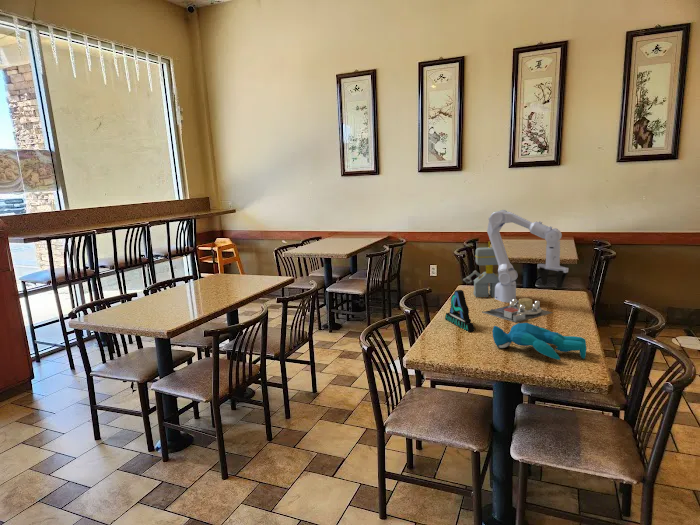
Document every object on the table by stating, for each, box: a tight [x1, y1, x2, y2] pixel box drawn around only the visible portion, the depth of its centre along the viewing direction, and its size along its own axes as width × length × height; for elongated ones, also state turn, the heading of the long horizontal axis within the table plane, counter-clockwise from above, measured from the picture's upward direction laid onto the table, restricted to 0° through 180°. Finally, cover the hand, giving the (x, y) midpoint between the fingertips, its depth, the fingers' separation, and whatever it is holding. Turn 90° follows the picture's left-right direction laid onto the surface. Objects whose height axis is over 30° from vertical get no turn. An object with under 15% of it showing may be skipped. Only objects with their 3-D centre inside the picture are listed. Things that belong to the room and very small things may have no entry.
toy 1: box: [462, 237, 500, 299], centre depth 230 cm, size 26×9×30 cm, turn 84°
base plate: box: [481, 305, 554, 324], centre depth 200 cm, size 19×23×3 cm
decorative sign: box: [444, 289, 475, 333], centre depth 188 cm, size 19×2×15 cm, turn 18°
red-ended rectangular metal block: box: [504, 307, 518, 320], centre depth 192 cm, size 4×4×4 cm
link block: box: [518, 297, 533, 310], centre depth 201 cm, size 4×4×4 cm
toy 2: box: [492, 322, 587, 361], centre depth 157 cm, size 19×10×30 cm
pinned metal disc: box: [508, 297, 543, 316], centre depth 201 cm, size 14×14×4 cm
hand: (551, 285), depth 206 cm, fingers open, 7 cm apart
